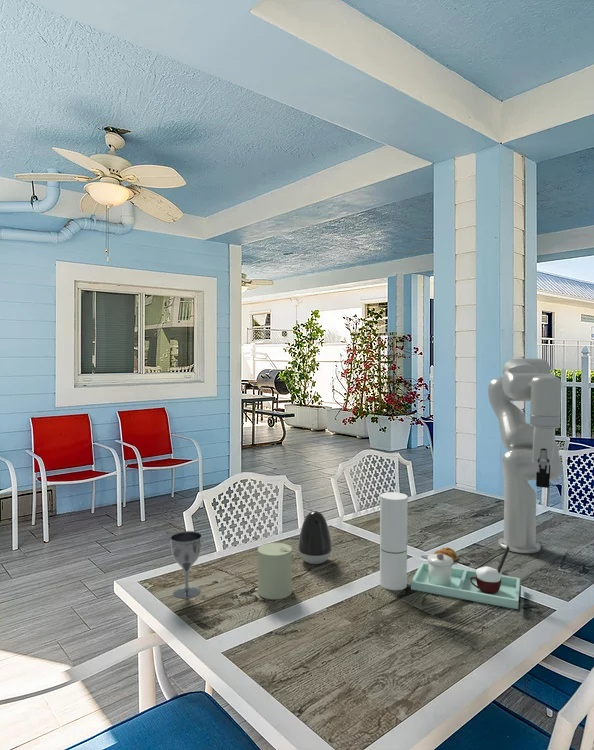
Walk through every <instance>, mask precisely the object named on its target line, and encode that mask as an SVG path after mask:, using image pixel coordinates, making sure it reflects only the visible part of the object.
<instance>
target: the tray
mask: <svg viewBox="0 0 594 750" xmlns="http://www.w3.org/2000/svg"><path fill="white" fill-rule="evenodd" d="M476 575H477V574H476V570H473V569H466V568H459V567H453V566H452V583H451V586H450V587H445V586H440V585H434V584H429V582H428V580H429V562H422V561H421V563H420V565H419V566H418V568H417V570H416V572H415V573H414V575H413V577H412V579H411V581H410V590H412V591H418V592H424V593H429V594H434V595H439V596H445V597H450V598H455V599H461V600H467V601H471V602H472V601H473V602H477V603H482V604H488V605H494V606H499V607H504V608H508V609H514V610H519V605H520V604H519V602H520V601H519V600H520V587H521V578H520V577H514V576H508V575H503V574H502V577H501V586H500V589H499V591H498V592H496V593H494V594H487V593H484V592H482V591H481V590H480V589H478V588H476V587H475V586H474V585H473V584H472V583H471V581H470V578H471V577H475V578H476ZM472 582H473V583H474V584H475V585H476V586H477V582H476V579H472Z"/></svg>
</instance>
